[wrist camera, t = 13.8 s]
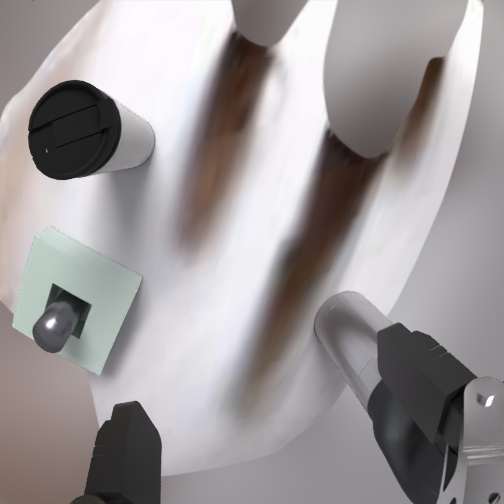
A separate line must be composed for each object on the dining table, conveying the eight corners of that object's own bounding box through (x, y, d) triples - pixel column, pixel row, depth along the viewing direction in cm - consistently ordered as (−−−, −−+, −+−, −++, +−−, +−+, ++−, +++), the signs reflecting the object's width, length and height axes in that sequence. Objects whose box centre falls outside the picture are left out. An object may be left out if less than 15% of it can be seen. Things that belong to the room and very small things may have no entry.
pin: (93, 293, 37) (67, 332, 27) (84, 316, 37) (59, 358, 28) (67, 278, 36) (35, 314, 26) (59, 302, 36) (29, 341, 27)
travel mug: (162, 160, 35) (123, 163, 16) (110, 173, 34) (28, 194, 15) (153, 109, 33) (108, 61, 14) (101, 124, 32) (13, 99, 13)
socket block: (143, 276, 38) (136, 292, 34) (107, 354, 41) (99, 375, 36) (51, 225, 34) (34, 235, 30) (26, 310, 37) (12, 326, 32)
